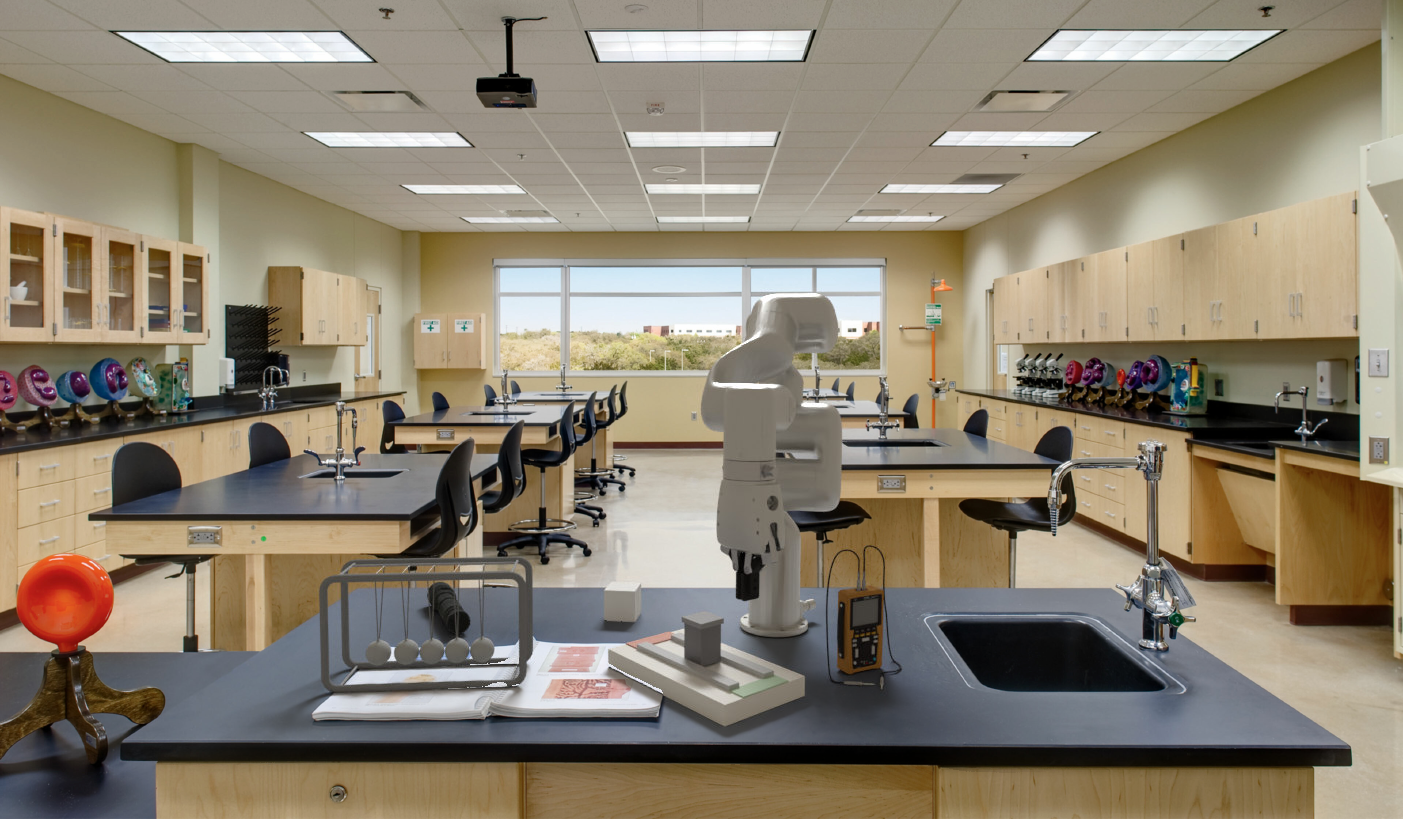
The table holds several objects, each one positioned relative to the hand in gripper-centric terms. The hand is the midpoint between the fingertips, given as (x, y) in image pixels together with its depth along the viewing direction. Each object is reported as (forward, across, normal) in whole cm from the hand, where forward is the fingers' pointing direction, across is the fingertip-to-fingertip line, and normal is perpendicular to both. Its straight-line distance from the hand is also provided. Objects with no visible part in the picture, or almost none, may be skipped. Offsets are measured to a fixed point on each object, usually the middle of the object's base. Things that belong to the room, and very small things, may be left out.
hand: (747, 598), depth 119 cm
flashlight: (+15, +64, +17) cm, 68 cm away
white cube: (+15, +44, -10) cm, 48 cm away
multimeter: (+15, -6, -23) cm, 28 cm away
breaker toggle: (+12, +10, -1) cm, 16 cm away
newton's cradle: (+16, +39, +31) cm, 52 cm away
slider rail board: (+15, +10, -1) cm, 19 cm away
